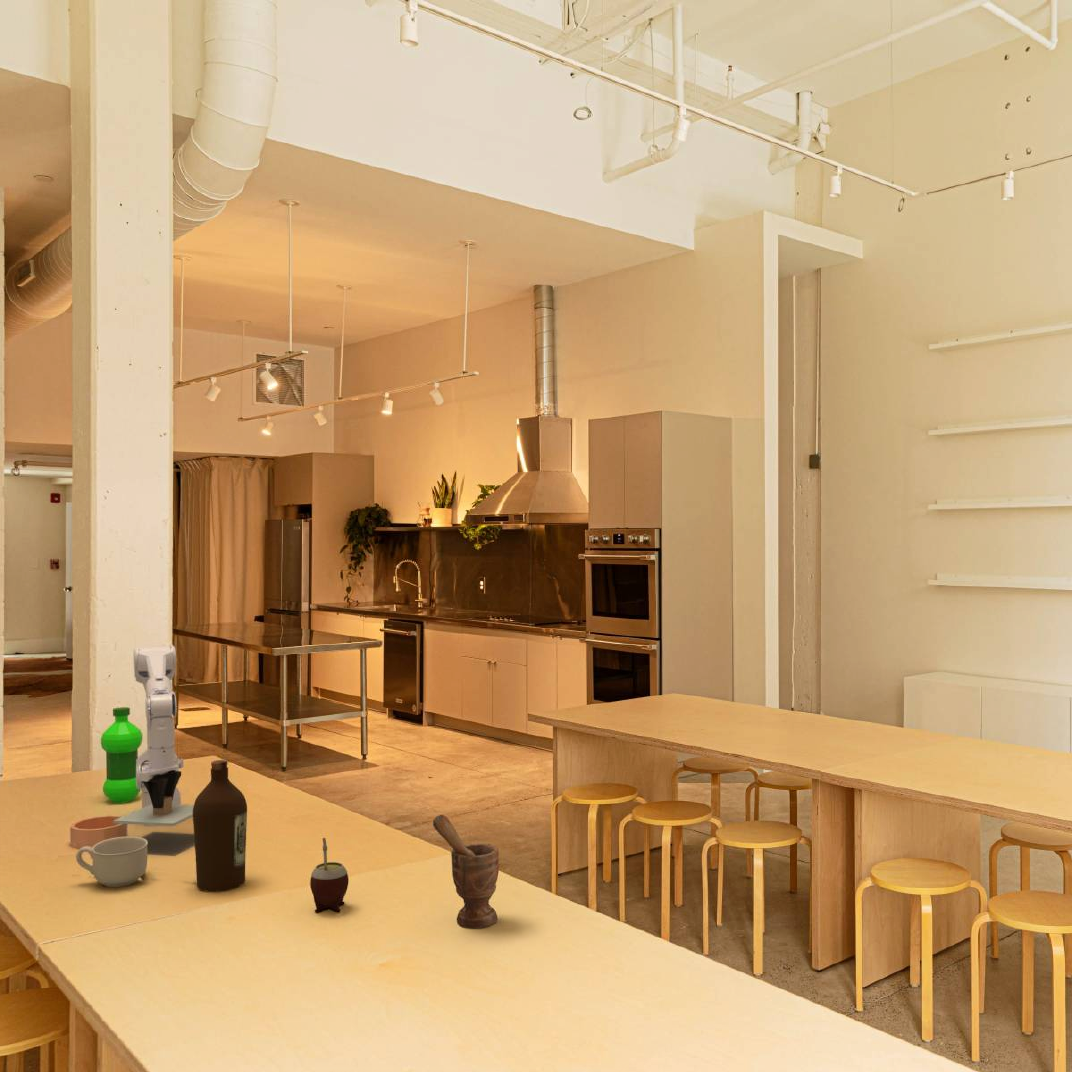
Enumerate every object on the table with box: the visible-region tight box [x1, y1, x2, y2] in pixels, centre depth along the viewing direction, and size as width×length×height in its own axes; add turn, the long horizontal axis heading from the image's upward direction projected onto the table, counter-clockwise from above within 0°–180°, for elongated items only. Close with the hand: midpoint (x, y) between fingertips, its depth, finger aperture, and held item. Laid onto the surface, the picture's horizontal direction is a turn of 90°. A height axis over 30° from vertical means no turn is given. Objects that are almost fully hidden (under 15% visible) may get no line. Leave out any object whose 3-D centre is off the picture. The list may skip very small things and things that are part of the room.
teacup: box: [75, 835, 148, 888], centre depth 213 cm, size 14×11×8 cm
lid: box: [113, 796, 194, 827], centre depth 237 cm, size 15×15×4 cm
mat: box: [140, 831, 195, 857], centre depth 237 cm, size 16×16×1 cm
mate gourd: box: [309, 837, 349, 914], centre depth 195 cm, size 8×8×15 cm
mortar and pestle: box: [432, 814, 500, 929], centre depth 187 cm, size 12×9×20 cm
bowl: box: [69, 815, 129, 849], centre depth 240 cm, size 12×12×5 cm
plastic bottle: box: [100, 706, 143, 804], centre depth 280 cm, size 10×10×25 cm
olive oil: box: [192, 759, 248, 893], centre depth 210 cm, size 11×11×25 cm
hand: (162, 805), depth 237 cm, fingers closed on lid, 3 cm apart
